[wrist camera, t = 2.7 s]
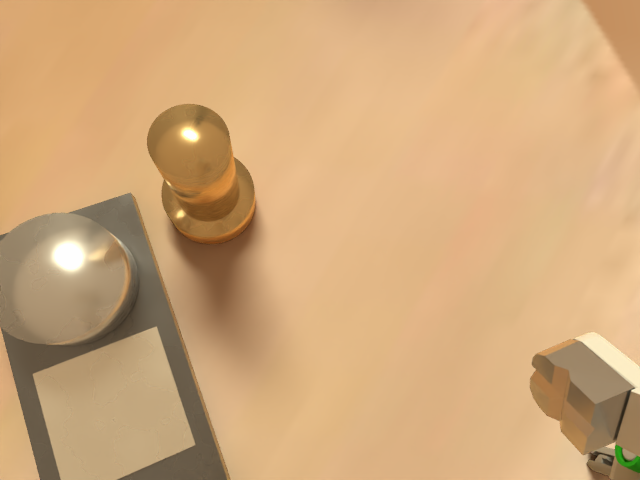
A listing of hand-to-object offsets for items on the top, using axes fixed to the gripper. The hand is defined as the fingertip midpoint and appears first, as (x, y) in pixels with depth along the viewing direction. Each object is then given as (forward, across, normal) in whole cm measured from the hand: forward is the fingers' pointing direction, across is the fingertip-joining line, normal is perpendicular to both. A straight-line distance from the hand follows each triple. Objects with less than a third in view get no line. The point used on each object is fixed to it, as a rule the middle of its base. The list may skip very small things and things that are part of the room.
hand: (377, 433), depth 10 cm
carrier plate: (+16, +11, +10) cm, 22 cm away
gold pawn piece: (+22, +2, +4) cm, 23 cm away
